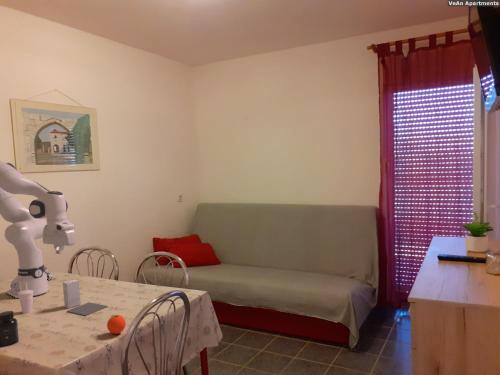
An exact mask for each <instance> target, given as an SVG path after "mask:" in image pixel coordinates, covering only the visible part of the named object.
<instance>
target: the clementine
mask: <svg viewBox="0 0 500 375" xmlns="http://www.w3.org/2000/svg"><path fill="white" fill-rule="evenodd" d="M126 324H127V322H126V319H125V318H124V317H123V315H120V314H112V315H111V317H109V319H108V321H107V322H106V328H107V330H108V331H109V332H110V333H111V334H114V335H115V334H121V333H122V332H123V331H124V329H125V328H126Z"/></svg>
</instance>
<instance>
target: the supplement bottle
mask: <svg viewBox="0 0 500 375" xmlns="http://www.w3.org/2000/svg"><path fill="white" fill-rule="evenodd" d="M14 316H15V315H14V311H13V310H5V311H3V312H0V348H5V347H10V346H13V345H16V344H17V343H19V342H20V341H19V338H20V336H19V327H18V319H17V318H15V317H14Z"/></svg>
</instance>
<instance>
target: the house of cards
mask: <svg viewBox="0 0 500 375" xmlns="http://www.w3.org/2000/svg"><path fill="white" fill-rule="evenodd" d="M44 270H45V271H44V273H46V275H47V279H48V281H51V280H53V279H54V276H53V275H52V273H51V272H50V271H48V267H47V266H44ZM52 278H53V279H52ZM50 279H51V280H50Z"/></svg>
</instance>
